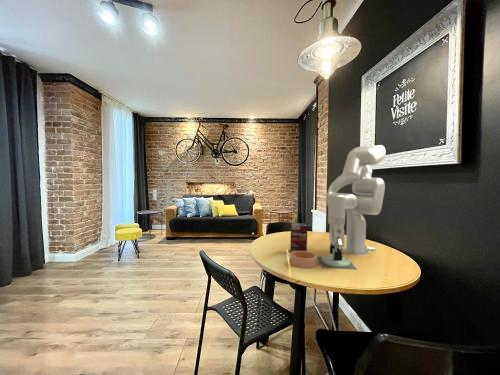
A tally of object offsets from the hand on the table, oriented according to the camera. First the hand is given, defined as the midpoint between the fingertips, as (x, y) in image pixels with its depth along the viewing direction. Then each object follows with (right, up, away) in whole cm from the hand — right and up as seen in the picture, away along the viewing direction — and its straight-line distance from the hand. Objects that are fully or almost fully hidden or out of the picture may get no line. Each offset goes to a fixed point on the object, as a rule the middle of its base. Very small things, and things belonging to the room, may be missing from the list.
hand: (335, 256), depth 109 cm
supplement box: (-14, -3, +16) cm, 22 cm away
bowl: (-15, -4, -1) cm, 16 cm away
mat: (0, -4, 0) cm, 4 cm away
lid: (0, -3, 0) cm, 3 cm away
